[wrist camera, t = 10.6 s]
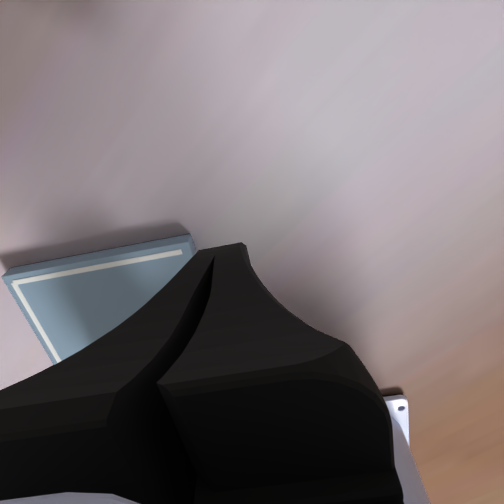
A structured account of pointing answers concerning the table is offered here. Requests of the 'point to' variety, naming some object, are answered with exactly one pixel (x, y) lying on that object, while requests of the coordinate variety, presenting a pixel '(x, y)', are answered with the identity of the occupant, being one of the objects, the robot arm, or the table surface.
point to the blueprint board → (93, 290)
